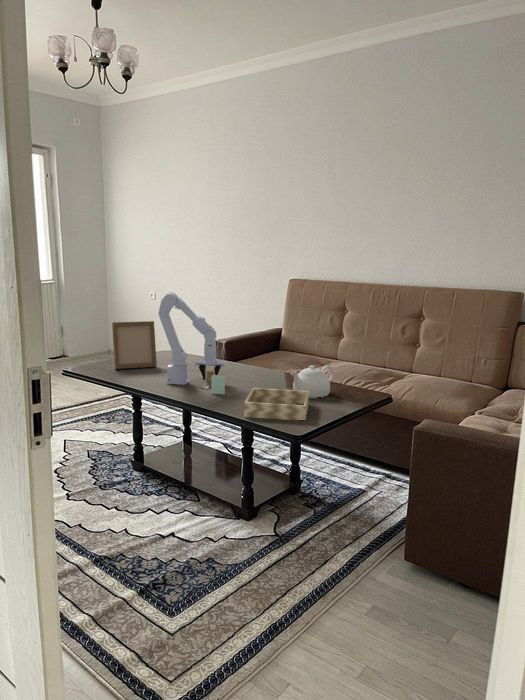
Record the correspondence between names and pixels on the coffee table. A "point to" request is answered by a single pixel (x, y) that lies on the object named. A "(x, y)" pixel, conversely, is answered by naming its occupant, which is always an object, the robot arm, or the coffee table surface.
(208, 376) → the turner
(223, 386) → the tile
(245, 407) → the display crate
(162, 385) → the coffee table surface
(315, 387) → the teapot
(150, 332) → the photo frame
